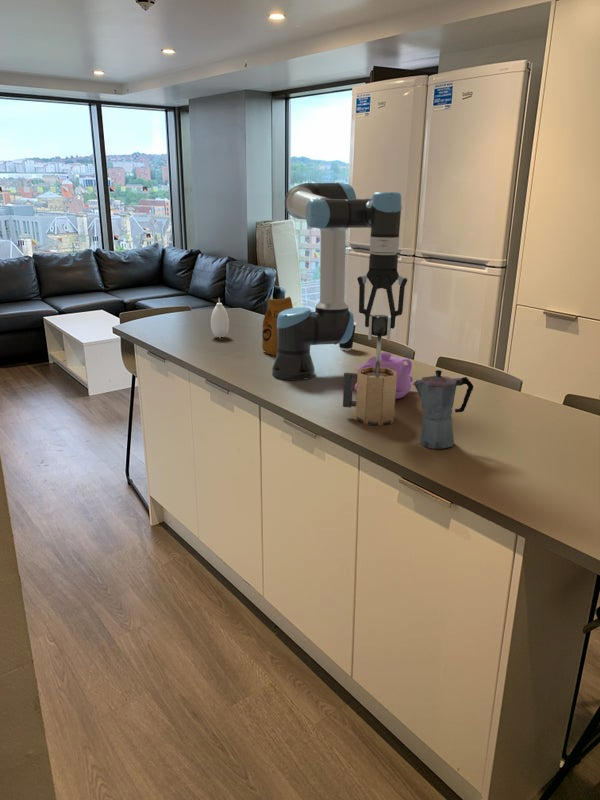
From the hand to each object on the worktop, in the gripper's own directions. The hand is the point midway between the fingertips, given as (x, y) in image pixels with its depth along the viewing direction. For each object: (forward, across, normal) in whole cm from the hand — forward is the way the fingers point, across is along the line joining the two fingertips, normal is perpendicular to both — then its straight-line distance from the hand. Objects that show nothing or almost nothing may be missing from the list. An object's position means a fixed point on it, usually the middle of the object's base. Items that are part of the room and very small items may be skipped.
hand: (379, 339), depth 168 cm
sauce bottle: (+24, -77, +83) cm, 116 cm away
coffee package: (+24, -46, +66) cm, 84 cm away
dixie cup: (+24, -20, +77) cm, 83 cm away
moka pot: (+24, +18, -14) cm, 33 cm away
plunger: (+12, 0, 0) cm, 12 cm away
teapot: (+24, +2, +21) cm, 32 cm away
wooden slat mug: (+24, -2, 0) cm, 24 cm away
